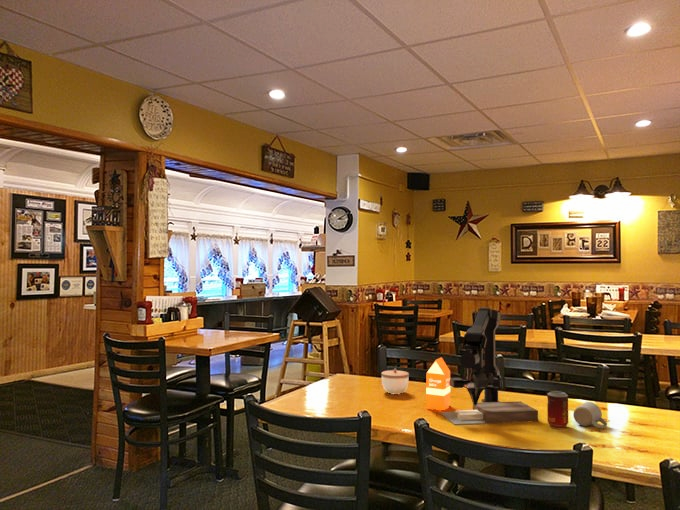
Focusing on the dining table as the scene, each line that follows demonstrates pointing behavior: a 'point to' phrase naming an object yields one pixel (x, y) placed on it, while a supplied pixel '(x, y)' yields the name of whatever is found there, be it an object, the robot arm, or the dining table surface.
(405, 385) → the lidded bowl
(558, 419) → the soda can
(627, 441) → the dining table surface
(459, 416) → the number block
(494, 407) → the walnut stand
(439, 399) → the orange juice
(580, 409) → the ceramic mug
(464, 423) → the rubber mat
